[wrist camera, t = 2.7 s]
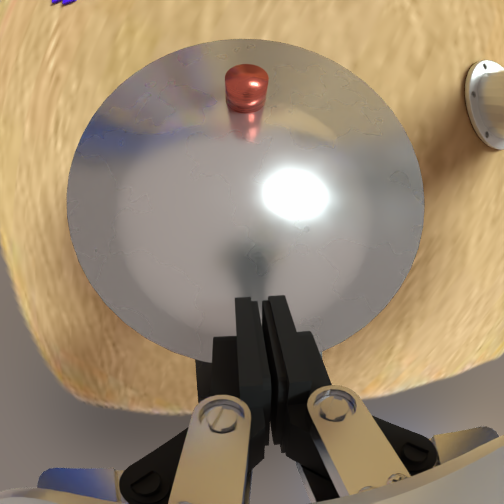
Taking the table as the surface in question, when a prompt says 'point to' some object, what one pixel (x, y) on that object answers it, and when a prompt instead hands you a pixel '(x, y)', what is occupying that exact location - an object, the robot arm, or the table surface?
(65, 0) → the building block set
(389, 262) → the lid
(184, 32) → the table surface
